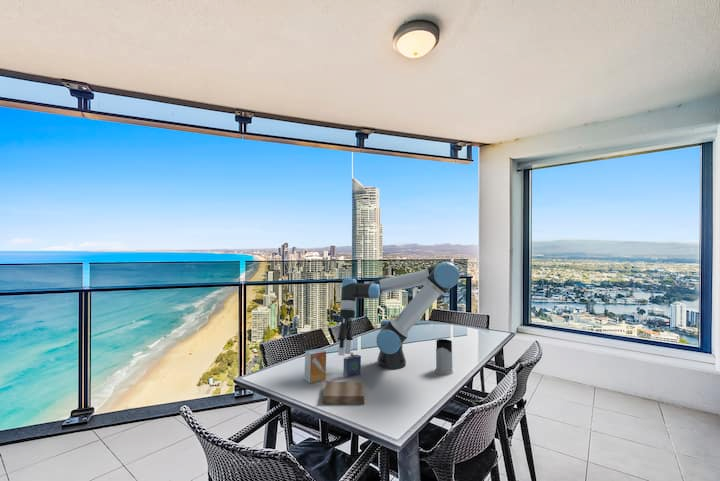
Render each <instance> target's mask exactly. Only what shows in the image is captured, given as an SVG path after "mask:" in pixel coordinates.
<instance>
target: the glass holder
mask: <svg viewBox="0 0 720 481" xmlns="http://www.w3.org/2000/svg"><path fill="white" fill-rule="evenodd" d="M452 344H453V342H452V340H450V339H445V338H443V339H441V338H440V339H436V346H435V347H436V349H435V353H436V354H435V355H436V356H435V360H436V361H435V363H436V364H435V372H436V373H438V374H439V375H446V376H447V375H449V376H450V375H453V373H454V370H453V345H452Z"/></svg>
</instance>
